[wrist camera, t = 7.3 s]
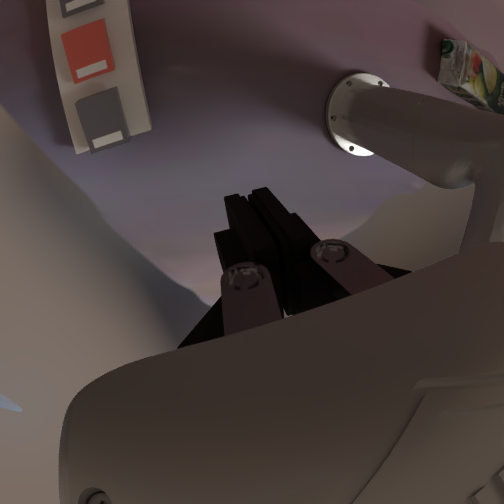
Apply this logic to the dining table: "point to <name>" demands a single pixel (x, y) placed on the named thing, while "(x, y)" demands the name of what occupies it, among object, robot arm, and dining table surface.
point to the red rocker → (88, 51)
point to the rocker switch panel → (122, 77)
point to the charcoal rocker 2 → (103, 119)
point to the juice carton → (471, 76)
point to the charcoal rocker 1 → (77, 6)
